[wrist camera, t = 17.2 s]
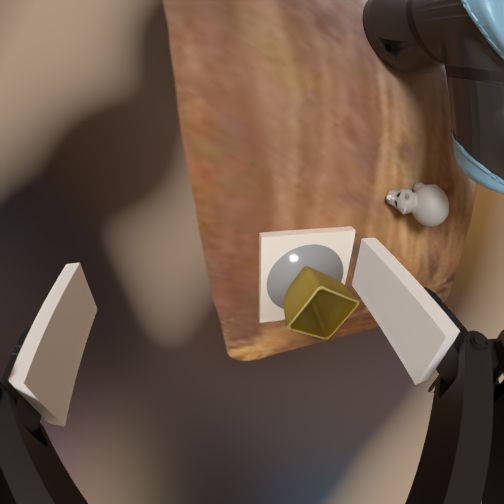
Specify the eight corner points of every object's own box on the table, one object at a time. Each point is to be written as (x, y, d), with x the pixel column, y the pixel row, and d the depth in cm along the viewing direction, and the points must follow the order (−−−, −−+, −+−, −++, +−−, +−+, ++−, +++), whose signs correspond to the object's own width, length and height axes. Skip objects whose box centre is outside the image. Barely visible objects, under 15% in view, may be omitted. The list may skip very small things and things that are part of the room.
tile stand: (351, 226, 47) (356, 231, 45) (335, 306, 56) (339, 312, 54) (259, 232, 44) (261, 238, 43) (258, 317, 54) (260, 323, 52)
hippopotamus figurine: (384, 169, 45) (396, 181, 38) (441, 182, 43) (460, 196, 35) (377, 206, 48) (386, 224, 41) (433, 217, 46) (448, 237, 39)
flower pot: (272, 292, 49) (285, 329, 41) (300, 252, 45) (320, 286, 38) (311, 305, 52) (327, 340, 44) (339, 269, 49) (361, 302, 41)
